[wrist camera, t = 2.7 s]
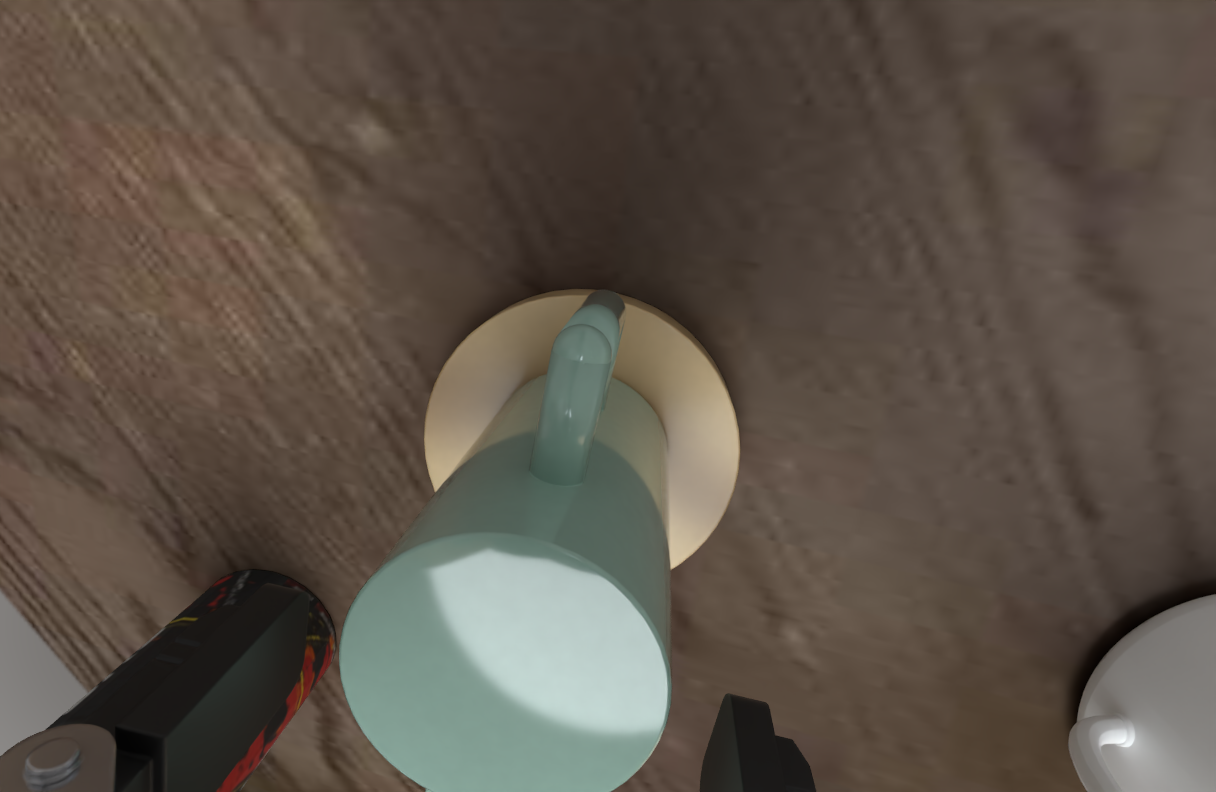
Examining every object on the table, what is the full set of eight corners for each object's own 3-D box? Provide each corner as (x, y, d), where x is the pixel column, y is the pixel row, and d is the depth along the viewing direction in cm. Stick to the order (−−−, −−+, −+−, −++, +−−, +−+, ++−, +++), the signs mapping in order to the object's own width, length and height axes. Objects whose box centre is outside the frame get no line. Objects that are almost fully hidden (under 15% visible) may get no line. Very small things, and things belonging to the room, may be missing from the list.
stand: (693, 598, 26) (695, 624, 24) (420, 534, 26) (405, 556, 24) (773, 328, 22) (781, 338, 21) (459, 257, 23) (444, 261, 21)
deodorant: (310, 709, 29) (-38, 1212, 15) (185, 651, 29) (-297, 1108, 14) (355, 609, 27) (10, 1069, 13) (222, 546, 27) (-285, 946, 13)
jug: (635, 594, 24) (611, 907, 13) (470, 556, 24) (318, 835, 14) (714, 297, 21) (764, 403, 10) (521, 253, 21) (371, 314, 10)
